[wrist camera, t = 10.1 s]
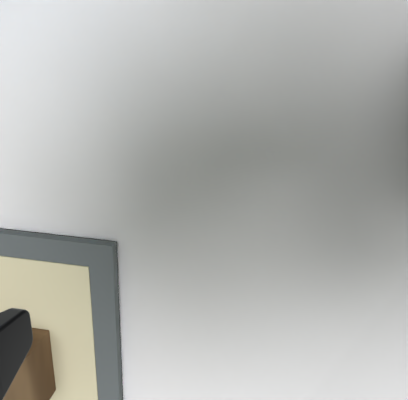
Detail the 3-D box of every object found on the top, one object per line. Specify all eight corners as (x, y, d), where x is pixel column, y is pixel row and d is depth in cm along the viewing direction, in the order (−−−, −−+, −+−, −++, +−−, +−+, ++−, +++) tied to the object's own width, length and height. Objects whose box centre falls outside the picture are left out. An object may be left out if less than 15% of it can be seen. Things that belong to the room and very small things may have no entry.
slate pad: (116, 241, 22) (112, 247, 22) (125, 458, 29) (121, 467, 28) (-99, 217, 24) (-108, 221, 23) (-46, 426, 30) (-52, 434, 30)
